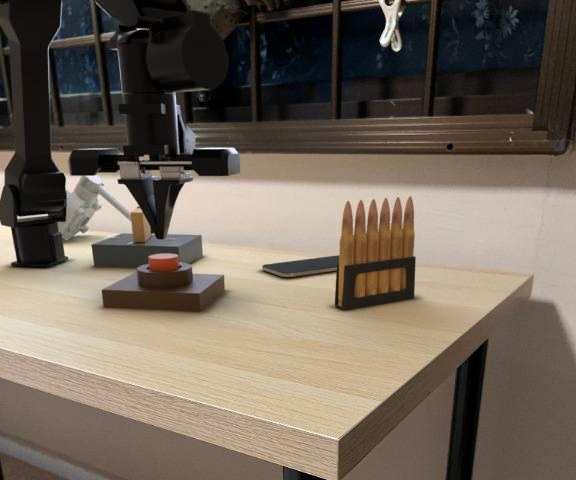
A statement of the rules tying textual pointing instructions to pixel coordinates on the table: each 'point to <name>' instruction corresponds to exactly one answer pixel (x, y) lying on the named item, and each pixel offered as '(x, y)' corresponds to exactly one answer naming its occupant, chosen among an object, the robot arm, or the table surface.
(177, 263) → the button
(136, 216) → the block
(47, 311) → the table surface
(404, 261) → the ammunition clip
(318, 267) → the smartphone
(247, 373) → the table surface
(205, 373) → the table surface
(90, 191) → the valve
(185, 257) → the panel
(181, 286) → the button box
